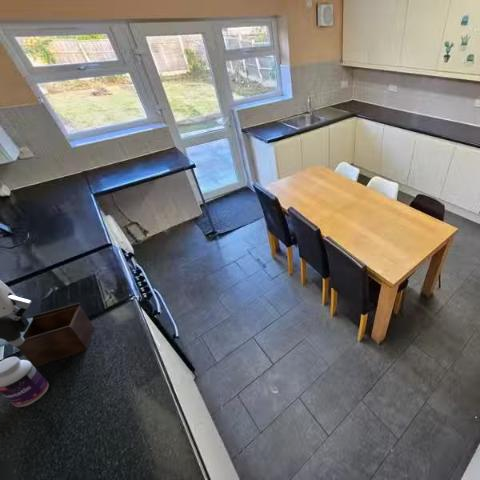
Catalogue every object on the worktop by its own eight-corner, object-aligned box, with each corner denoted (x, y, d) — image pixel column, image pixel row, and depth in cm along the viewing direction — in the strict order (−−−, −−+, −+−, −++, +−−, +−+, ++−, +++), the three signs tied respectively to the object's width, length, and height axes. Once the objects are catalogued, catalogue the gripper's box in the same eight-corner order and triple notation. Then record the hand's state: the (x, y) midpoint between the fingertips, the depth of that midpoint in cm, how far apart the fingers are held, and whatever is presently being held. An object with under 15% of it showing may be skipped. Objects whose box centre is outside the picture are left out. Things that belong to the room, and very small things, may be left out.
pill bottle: (9, 413, 78) (-25, 383, 71) (22, 388, 84) (-7, 359, 77) (44, 401, 81) (15, 371, 73) (54, 378, 87) (29, 348, 80)
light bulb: (31, 346, 73) (9, 320, 68) (2, 357, 71) (-23, 330, 66) (36, 333, 77) (15, 307, 72) (9, 342, 75) (-14, 316, 70)
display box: (34, 368, 90) (11, 343, 84) (47, 341, 100) (28, 316, 94) (87, 351, 96) (69, 326, 89) (94, 326, 106) (79, 302, 99)
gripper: (-104, 300, 57) (-44, 356, 66) (4, 277, 63) (45, 331, 72) (-78, 280, 63) (-26, 334, 72) (18, 260, 69) (55, 312, 78)
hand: (9, 332), depth 72 cm, fingers closed on light bulb, 5 cm apart
